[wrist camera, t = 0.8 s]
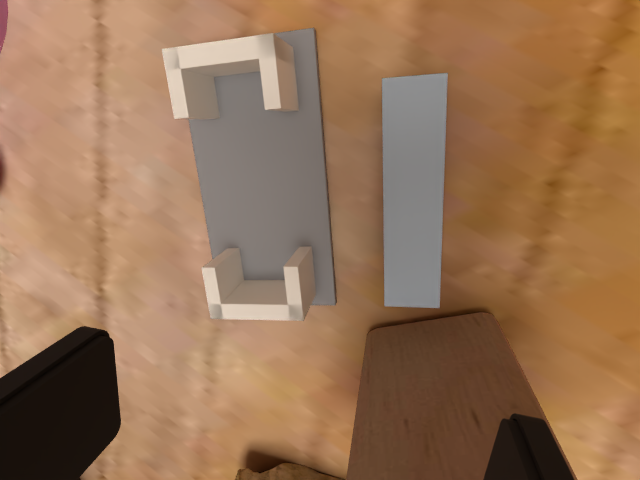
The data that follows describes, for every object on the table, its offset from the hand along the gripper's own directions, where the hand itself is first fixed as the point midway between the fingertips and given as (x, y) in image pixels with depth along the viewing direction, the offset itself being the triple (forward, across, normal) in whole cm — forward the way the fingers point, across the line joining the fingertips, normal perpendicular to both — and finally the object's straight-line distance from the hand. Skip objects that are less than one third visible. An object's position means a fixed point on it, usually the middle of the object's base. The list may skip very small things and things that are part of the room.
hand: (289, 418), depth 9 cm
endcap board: (+21, +8, -2) cm, 22 cm away
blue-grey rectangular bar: (+21, -3, -2) cm, 21 cm away
